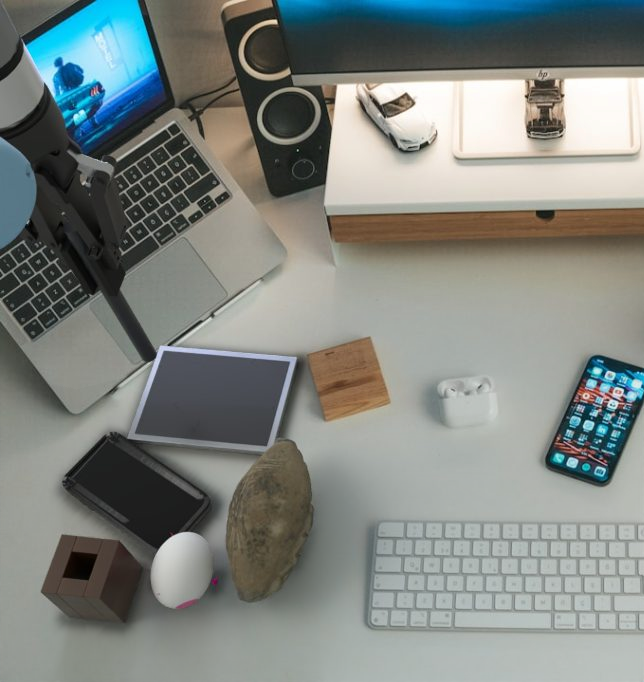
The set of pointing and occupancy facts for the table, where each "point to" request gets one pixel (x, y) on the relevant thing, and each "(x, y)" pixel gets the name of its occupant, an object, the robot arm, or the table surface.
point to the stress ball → (182, 570)
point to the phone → (136, 492)
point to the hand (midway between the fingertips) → (106, 283)
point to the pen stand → (92, 578)
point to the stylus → (115, 301)
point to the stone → (269, 521)
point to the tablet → (214, 400)
